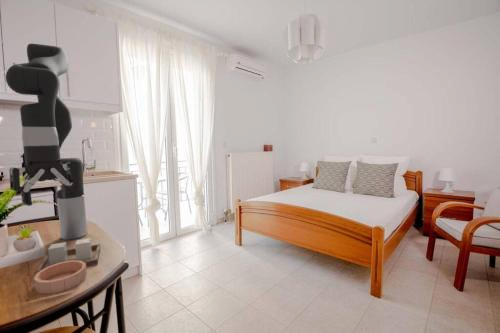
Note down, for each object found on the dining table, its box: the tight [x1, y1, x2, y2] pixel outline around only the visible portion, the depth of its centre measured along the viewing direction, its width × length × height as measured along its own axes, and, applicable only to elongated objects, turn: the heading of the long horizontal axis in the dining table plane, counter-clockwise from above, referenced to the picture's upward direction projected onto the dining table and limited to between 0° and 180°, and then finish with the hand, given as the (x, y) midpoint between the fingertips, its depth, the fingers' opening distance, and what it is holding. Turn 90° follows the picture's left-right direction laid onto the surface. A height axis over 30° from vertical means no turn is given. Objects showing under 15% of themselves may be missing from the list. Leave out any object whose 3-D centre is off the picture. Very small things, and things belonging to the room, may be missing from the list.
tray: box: [35, 243, 101, 275], centre depth 83 cm, size 14×16×2 cm
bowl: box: [33, 260, 88, 294], centre depth 71 cm, size 12×12×4 cm
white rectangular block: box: [74, 237, 92, 261], centre depth 85 cm, size 4×4×6 cm
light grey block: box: [47, 241, 68, 266], centre depth 81 cm, size 4×4×6 cm
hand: (47, 201), depth 70 cm, fingers open, 8 cm apart
